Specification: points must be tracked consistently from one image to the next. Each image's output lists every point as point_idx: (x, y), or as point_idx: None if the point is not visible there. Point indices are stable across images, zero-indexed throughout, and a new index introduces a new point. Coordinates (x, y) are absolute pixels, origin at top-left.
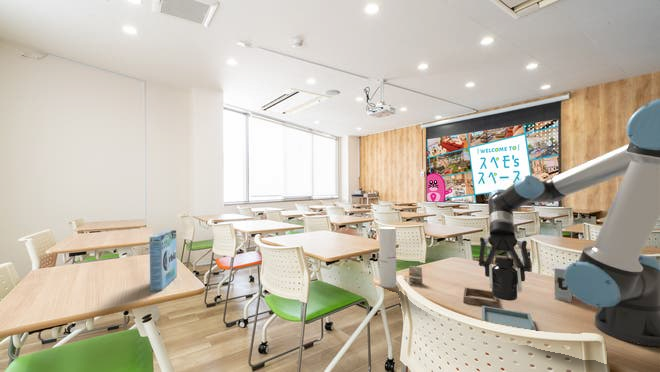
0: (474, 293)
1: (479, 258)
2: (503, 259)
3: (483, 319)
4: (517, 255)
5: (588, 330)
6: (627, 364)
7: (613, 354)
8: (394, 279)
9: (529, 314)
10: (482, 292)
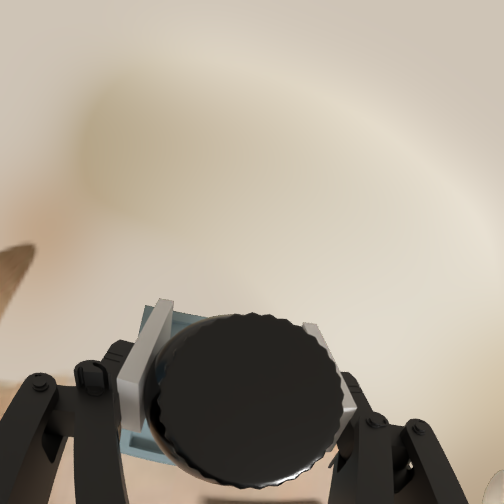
0: None
1: (435, 440)
2: (272, 355)
3: None
4: (78, 498)
5: (2, 393)
6: (24, 248)
7: (20, 280)
8: (501, 489)
9: (122, 444)
10: None
